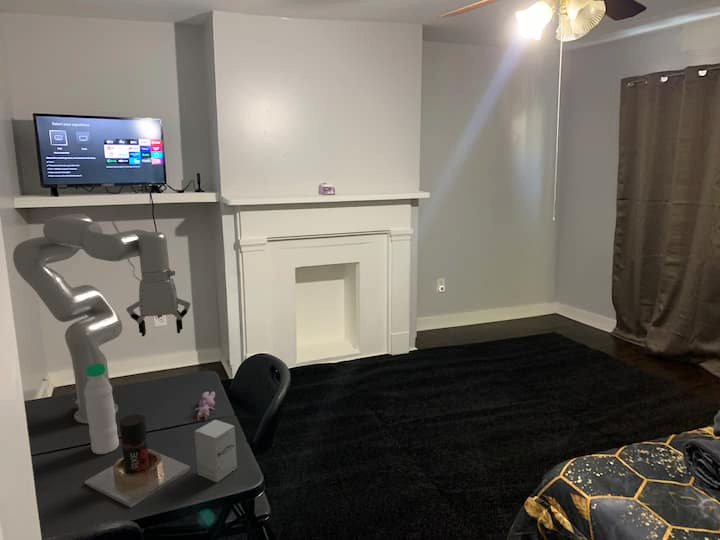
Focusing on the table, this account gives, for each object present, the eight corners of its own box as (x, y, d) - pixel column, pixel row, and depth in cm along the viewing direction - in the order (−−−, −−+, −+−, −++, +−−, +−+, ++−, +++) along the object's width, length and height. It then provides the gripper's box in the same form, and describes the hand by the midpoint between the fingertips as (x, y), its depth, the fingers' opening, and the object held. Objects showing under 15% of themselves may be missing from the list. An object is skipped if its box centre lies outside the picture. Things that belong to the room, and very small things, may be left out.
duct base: (85, 484, 138) (83, 470, 137) (146, 450, 153) (144, 437, 152) (130, 507, 129) (129, 492, 128) (190, 469, 144) (189, 456, 143)
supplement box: (217, 483, 138) (213, 438, 135) (197, 474, 142) (193, 430, 139) (238, 469, 144) (235, 425, 141) (218, 461, 148) (214, 418, 145)
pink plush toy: (212, 424, 171) (220, 395, 184) (210, 408, 168) (218, 380, 182) (192, 425, 170) (201, 396, 184) (190, 409, 168) (199, 381, 182)
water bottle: (86, 452, 153) (74, 369, 147) (105, 440, 159) (95, 359, 154) (105, 457, 150) (94, 372, 145) (124, 444, 157) (114, 362, 151)
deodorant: (128, 482, 137) (122, 428, 134) (123, 471, 142) (117, 418, 138) (152, 474, 140) (147, 421, 137) (147, 464, 145) (141, 412, 142)
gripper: (188, 271, 160) (193, 326, 164) (125, 275, 156) (131, 331, 160) (186, 276, 153) (191, 334, 157) (120, 281, 149) (127, 340, 153)
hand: (161, 333), depth 159 cm, fingers open, 9 cm apart
